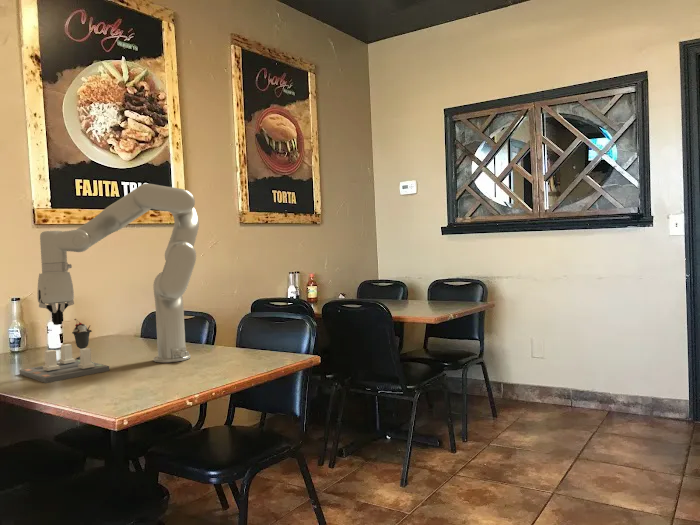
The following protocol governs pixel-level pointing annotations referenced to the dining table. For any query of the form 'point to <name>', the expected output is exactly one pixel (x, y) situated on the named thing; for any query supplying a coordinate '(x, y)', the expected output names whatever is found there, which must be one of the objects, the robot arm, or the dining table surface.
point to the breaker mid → (50, 360)
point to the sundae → (81, 335)
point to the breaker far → (66, 354)
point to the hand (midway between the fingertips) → (57, 324)
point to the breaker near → (85, 358)
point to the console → (62, 371)
